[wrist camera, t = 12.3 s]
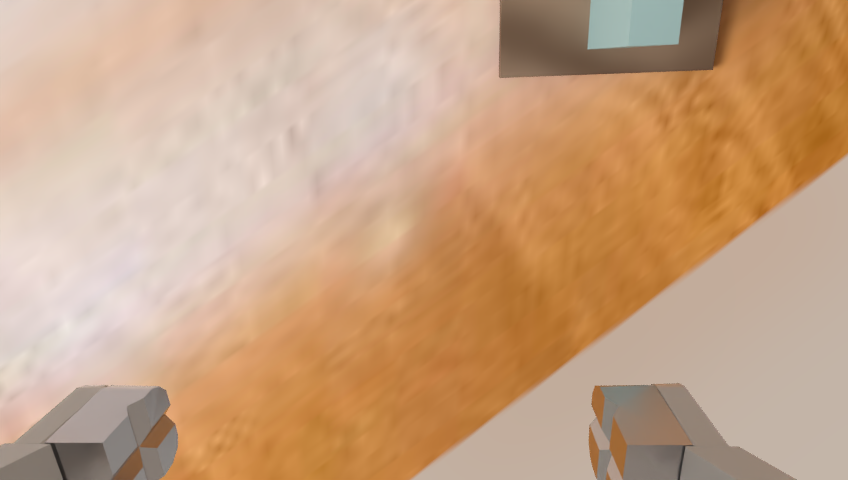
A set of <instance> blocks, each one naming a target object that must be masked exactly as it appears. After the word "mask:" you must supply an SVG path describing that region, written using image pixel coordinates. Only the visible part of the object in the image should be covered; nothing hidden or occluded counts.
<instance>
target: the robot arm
mask: <svg viewBox="0 0 848 480" xmlns="http://www.w3.org/2000/svg"><path fill="white" fill-rule="evenodd" d="M169 406H170V402H169V399H168V395H167V392H166V390H164V389H163V388H161V387H159V386H114V385H111V386H107V385H86V386H83V387H79V388H76V389H75V390H74V391H73V392H72V393H71V394H70V395H68V396H67V397H66V398H65V399H64V400H63V401H61V402H60V403H59V404H58V405H57V406H56V407H55V408H53V409H52V410H51V411H50V412H49V413H48V414H46V415H45V416H44V417H43V418H42V419H41V420H40V421H38V422H37V423H36V424H35V425H34V426H33V427H32V428H30V429H29V430H28V431H27V432H26V433H25V434H23V435H22V436H21V437H20V438H19V439H18V440H17V441H15V442H14V443H13V444H3V445H1V446H0V480H159V479H160V478H162V477H163V476H165V474H166V473H167V471H168V470H169V468H170V466H171V465H172V463H173V460H174V457H175V454H176V451H177V447H178V434H177V430H176V425H175V423H174V422H173V421H172V420H170V419H169V418H168V417H167V416H166V415H165V413H166V412H167V410H168V408H169ZM592 407H593V410H594V412H595V414H596V419H595V420H594V421H593V422H592V423H591V424H590V428H589V449H590V457H591V462H592V467H593V470H594V473H595V476H596V478H597V480H796V479H794V478H793V477H791V476H789V475H787V474H786V473H784V472H782V471H780V470H779V469H777V468H775V467H773V466H772V465H769V464H768V463H766V462H765V461H763V460H761V459H759V458H758V457H756V456H754V455H752V454H751V453H749V452H747V451H745V450H743V449H742V448H740V447H730V446H729V445H728V444H727V443H726V441H725V440H724V439H723V437H722V436H721V435H720V433H719V432H718V431H717V429H716V428H715V427H714V425H713V424H712V422H711V421H710V420H709V418H708V417H707V416H706V414H705V413H704V412H703V410H702V409H701V408H700V406H699V405H698V404H697V402H696V401H695V400H694V398H693V397H692V396H691V394H690V393H689V392H688V390H687V389H686V388H685V386H683V385H681V384H679V383H676V384H651V385H628V386H627V385H626V386H624V385H623V386H595V388H594V391H593V395H592Z"/></svg>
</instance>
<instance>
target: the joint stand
mask: <svg viewBox="0 0 848 480" xmlns="http://www.w3.org/2000/svg"><path fill="white" fill-rule="evenodd" d="M590 4H591V0H500V47H499V77H500V78H509V77H535V76H561V75H587V74H614V73H640V72H666V71H692V70H713V65H714V59H715V52H716V45H717V38H718V32H719V25H720V18H721V12H722V5H723V0H684V3H683V11H682V19H681V27H680V35H679V43H678V44H674V45H660V46H645V47H631V48H610V49H588V34H589V19H590Z"/></svg>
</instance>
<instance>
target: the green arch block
mask: <svg viewBox="0 0 848 480" xmlns="http://www.w3.org/2000/svg"><path fill="white" fill-rule="evenodd" d="M683 3H684V0H591V4H590V19H589V34H588V49H610V48H631V47H645V46H660V45H674V44H678V43H679V35H680V27H681V19H682V11H683Z"/></svg>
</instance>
